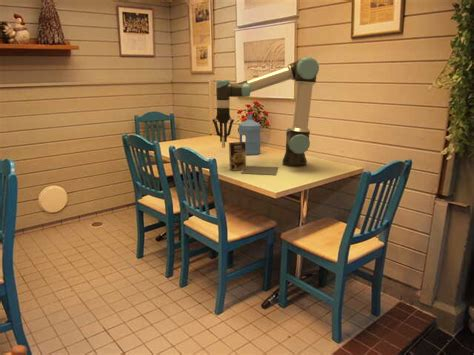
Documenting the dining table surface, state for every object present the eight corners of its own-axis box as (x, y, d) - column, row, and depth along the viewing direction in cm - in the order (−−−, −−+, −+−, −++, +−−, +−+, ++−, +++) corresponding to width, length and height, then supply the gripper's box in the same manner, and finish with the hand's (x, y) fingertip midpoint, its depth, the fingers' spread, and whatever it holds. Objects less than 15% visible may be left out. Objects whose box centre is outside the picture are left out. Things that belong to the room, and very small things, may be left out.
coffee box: (231, 171, 225) (230, 144, 221) (229, 168, 232) (228, 142, 227) (246, 169, 227) (245, 143, 223) (244, 167, 233) (243, 141, 229)
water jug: (260, 151, 282) (261, 113, 274) (259, 155, 267) (260, 115, 259) (239, 150, 283) (239, 112, 276) (237, 155, 268) (237, 115, 261)
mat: (278, 167, 234) (278, 167, 234) (275, 175, 217) (276, 174, 217) (246, 166, 237) (246, 165, 237) (241, 173, 220) (241, 173, 220)
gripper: (235, 106, 223) (235, 146, 230) (213, 106, 226) (214, 145, 232) (232, 108, 216) (233, 148, 223) (210, 107, 218) (211, 148, 225)
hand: (223, 147), depth 227 cm, fingers closed
